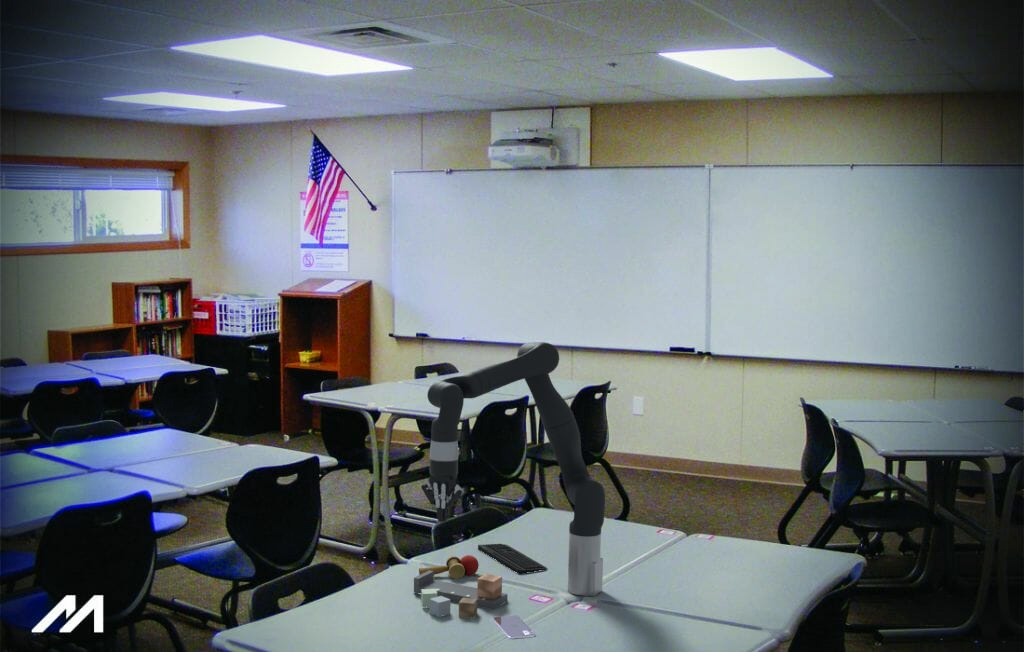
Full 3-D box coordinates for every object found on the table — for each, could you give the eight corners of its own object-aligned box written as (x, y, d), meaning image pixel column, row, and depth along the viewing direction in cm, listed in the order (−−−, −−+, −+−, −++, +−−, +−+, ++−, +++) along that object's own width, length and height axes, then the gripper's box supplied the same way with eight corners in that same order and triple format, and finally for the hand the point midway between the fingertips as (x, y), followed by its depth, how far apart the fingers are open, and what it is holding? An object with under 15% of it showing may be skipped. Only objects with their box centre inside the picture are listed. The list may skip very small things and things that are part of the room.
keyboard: (549, 571, 307) (549, 565, 307) (518, 576, 302) (518, 569, 302) (506, 546, 333) (506, 540, 333) (477, 550, 328) (477, 544, 328)
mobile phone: (518, 614, 266) (537, 634, 252) (518, 617, 266) (537, 637, 252) (491, 616, 263) (509, 636, 249) (491, 620, 263) (509, 640, 249)
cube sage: (435, 602, 276) (435, 588, 275) (437, 607, 272) (437, 593, 271) (420, 603, 275) (421, 589, 274) (422, 608, 271) (422, 593, 271)
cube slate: (450, 614, 267) (450, 599, 266) (438, 617, 264) (438, 602, 264) (441, 610, 270) (441, 595, 269) (429, 613, 267) (429, 598, 267)
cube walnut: (477, 613, 268) (477, 598, 267) (473, 618, 264) (473, 603, 264) (462, 611, 269) (463, 597, 268) (458, 616, 265) (458, 602, 264)
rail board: (507, 601, 278) (507, 585, 277) (493, 609, 271) (493, 593, 270) (428, 585, 290) (429, 570, 289) (413, 593, 283) (414, 577, 282)
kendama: (423, 587, 293) (482, 574, 297) (420, 565, 293) (479, 553, 298) (419, 583, 300) (477, 571, 305) (416, 562, 301) (474, 551, 305)
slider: (501, 594, 277) (502, 576, 276) (493, 599, 272) (493, 581, 272) (486, 591, 279) (486, 573, 279) (477, 596, 275) (477, 578, 274)
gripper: (472, 457, 263) (470, 522, 264) (430, 452, 270) (429, 515, 271) (458, 462, 257) (456, 528, 258) (415, 456, 263) (413, 520, 264)
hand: (442, 521), depth 264 cm, fingers closed
